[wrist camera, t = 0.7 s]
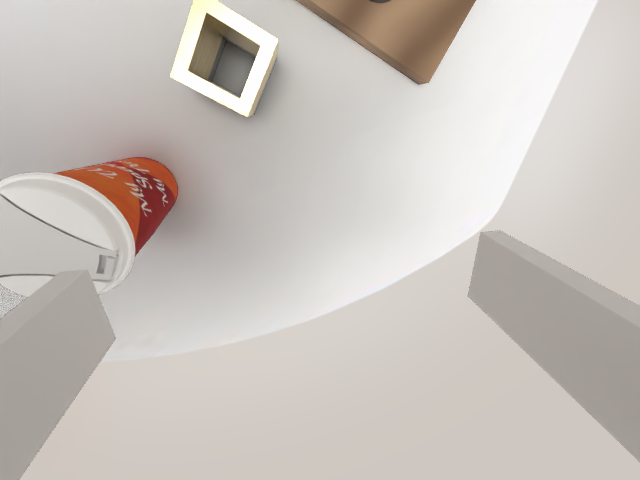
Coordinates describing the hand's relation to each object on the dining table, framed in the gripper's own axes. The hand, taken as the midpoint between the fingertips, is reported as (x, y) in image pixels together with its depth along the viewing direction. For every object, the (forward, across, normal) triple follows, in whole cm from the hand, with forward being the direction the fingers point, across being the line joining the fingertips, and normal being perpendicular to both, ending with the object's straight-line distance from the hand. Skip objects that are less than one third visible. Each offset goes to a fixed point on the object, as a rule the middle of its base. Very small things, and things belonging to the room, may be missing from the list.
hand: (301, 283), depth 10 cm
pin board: (+21, +11, +19) cm, 30 cm away
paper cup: (+21, -13, -1) cm, 25 cm away
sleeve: (+21, -3, +8) cm, 23 cm away
